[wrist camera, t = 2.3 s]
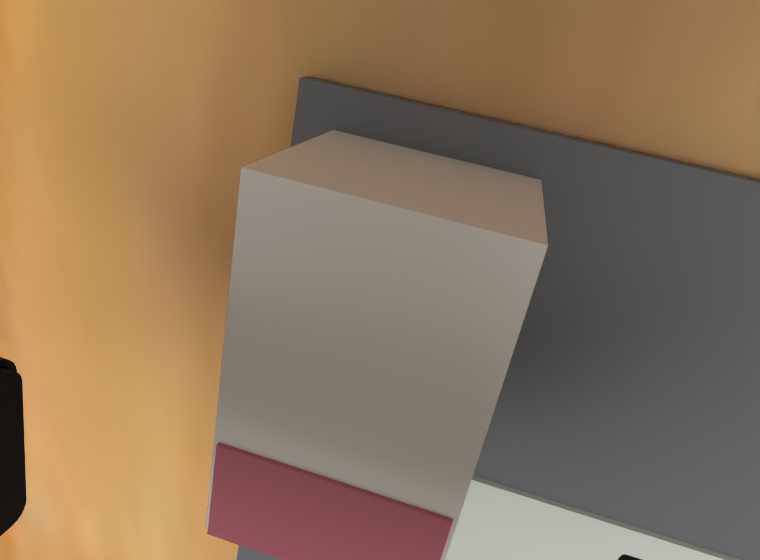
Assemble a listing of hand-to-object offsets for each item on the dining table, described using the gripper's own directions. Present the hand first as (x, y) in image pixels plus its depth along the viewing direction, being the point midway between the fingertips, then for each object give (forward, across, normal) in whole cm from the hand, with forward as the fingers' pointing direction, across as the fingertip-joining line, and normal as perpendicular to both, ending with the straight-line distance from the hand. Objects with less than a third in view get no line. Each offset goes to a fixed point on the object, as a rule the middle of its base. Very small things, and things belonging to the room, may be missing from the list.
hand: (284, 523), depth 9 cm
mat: (+8, -4, +3) cm, 10 cm away
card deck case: (+7, 0, -1) cm, 7 cm away
